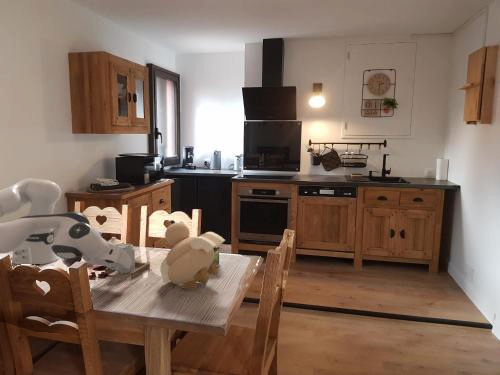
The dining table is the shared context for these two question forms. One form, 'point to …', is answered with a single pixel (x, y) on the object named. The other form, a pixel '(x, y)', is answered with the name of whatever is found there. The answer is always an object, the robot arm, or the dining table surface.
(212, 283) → the dining table surface
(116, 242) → the teacup with lid
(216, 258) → the coffee can
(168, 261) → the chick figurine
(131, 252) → the can
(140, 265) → the frame
